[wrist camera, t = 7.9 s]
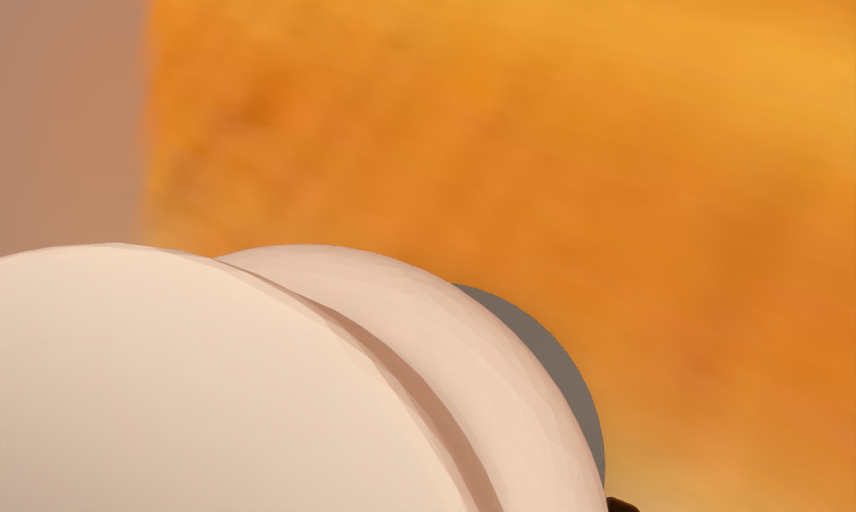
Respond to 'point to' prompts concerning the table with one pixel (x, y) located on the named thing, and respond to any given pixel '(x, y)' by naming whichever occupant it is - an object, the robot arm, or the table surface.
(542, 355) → the slate coaster
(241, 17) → the table surface
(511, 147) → the table surface
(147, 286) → the supplement bottle
